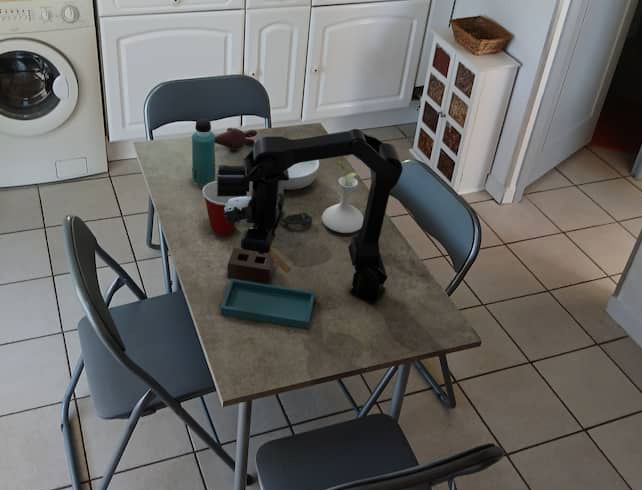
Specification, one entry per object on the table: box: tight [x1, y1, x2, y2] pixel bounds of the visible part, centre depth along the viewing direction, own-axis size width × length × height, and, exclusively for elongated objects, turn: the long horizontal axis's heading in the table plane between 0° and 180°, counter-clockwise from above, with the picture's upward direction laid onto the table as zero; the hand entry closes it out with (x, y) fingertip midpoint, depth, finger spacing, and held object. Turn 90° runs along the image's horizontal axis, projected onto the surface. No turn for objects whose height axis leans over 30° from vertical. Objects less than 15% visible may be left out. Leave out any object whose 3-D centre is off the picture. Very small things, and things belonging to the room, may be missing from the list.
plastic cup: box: [201, 180, 245, 236], centre depth 190 cm, size 11×11×12 cm
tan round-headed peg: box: [250, 227, 292, 274], centre depth 167 cm, size 3×2×14 cm
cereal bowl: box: [283, 160, 320, 191], centre depth 211 cm, size 17×17×7 cm
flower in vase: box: [321, 155, 364, 234], centre depth 193 cm, size 13×11×25 cm
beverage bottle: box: [191, 118, 216, 186], centre depth 203 cm, size 6×7×20 cm
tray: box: [220, 278, 316, 330], centre depth 171 cm, size 20×10×2 cm, turn 82°
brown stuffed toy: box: [215, 127, 258, 152], centre depth 224 cm, size 7×7×15 cm
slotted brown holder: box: [227, 247, 275, 285], centre depth 179 cm, size 10×6×4 cm, turn 82°
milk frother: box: [250, 181, 313, 226], centre depth 195 cm, size 14×16×15 cm
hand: (262, 250), depth 167 cm, fingers closed on tan round-headed peg, 2 cm apart
